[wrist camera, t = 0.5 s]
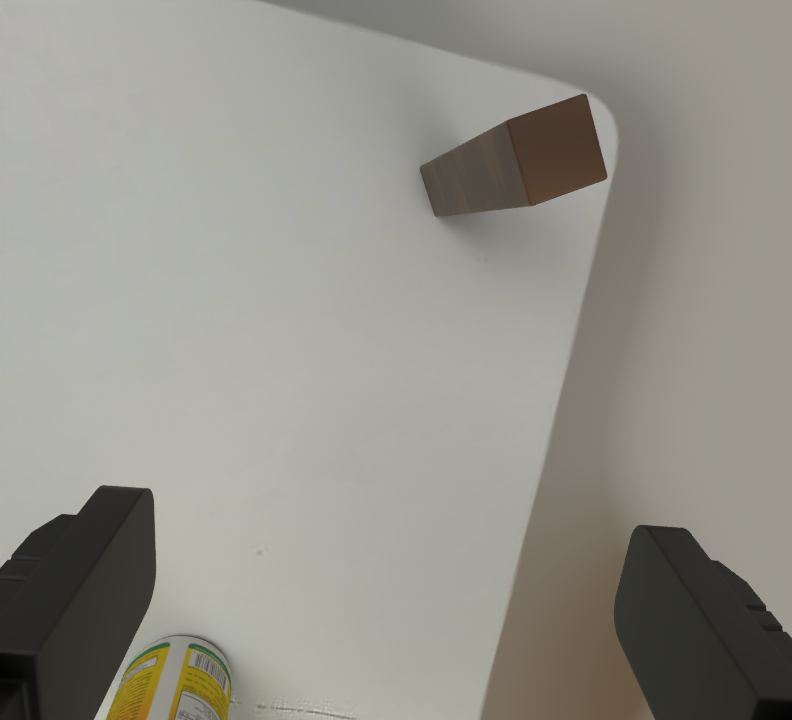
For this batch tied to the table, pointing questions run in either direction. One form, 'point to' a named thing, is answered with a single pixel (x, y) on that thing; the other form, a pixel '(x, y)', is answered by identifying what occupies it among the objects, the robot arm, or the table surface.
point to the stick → (519, 162)
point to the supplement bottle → (174, 683)
